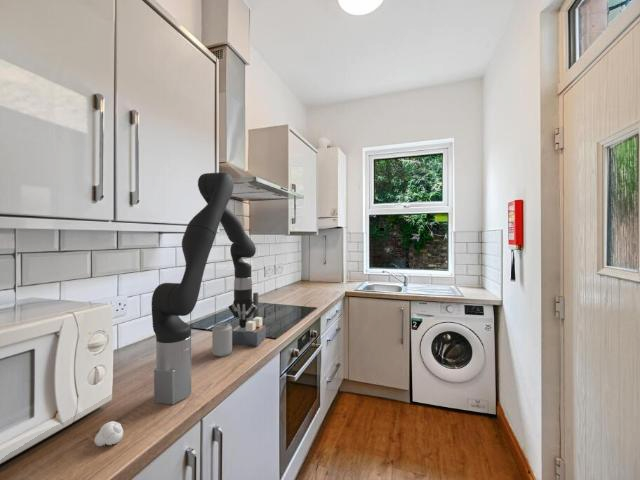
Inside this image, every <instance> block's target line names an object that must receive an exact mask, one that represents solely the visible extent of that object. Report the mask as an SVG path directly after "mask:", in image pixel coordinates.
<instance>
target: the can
mask: <svg viewBox="0 0 640 480" xmlns="http://www.w3.org/2000/svg"><path fill="white" fill-rule="evenodd" d="M232 330H233V326H232V325H231V323H230V322H227V321H222V322H216V323H215V324H214V325H213V327H212V329H211V331H212V332H211V333H212V338H211V339H212V341H211V342H212V354H213V356H215V357H218V358H223V357H227V356H229V355H230V354H231V353H232V352H233V345H232Z"/></svg>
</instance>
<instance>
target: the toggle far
mask: <svg viewBox="0 0 640 480" xmlns="http://www.w3.org/2000/svg"><path fill="white" fill-rule="evenodd" d="M252 321H256V327H260V326H262V325H263V317H262V316H258V317H255V318H254V319H253V318H252Z"/></svg>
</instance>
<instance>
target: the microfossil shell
mask: <svg viewBox="0 0 640 480" xmlns="http://www.w3.org/2000/svg"><path fill="white" fill-rule="evenodd" d="M123 436H124V429H123V427H122V424H121V423H120V422H117V421H109V422H106V423H104V424H103V425H102V426H101V427H100V429H99V431H98V433H96V435H95V436H94V444H95V445H96V446H97V447H104V446H105V444H106V445H107V446H112V444H113V445H115V444H117V443H118V442H120V441H121V440H122V439H123ZM103 445H104V446H103Z"/></svg>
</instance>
